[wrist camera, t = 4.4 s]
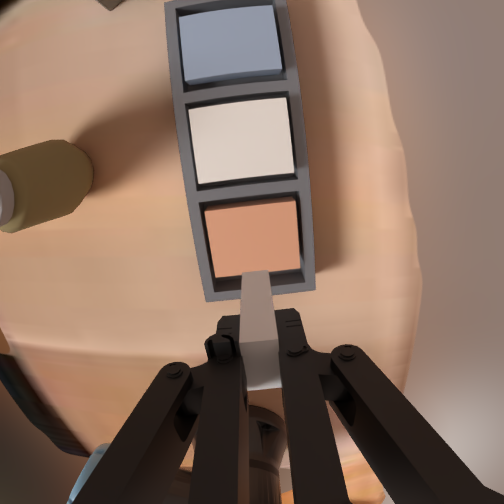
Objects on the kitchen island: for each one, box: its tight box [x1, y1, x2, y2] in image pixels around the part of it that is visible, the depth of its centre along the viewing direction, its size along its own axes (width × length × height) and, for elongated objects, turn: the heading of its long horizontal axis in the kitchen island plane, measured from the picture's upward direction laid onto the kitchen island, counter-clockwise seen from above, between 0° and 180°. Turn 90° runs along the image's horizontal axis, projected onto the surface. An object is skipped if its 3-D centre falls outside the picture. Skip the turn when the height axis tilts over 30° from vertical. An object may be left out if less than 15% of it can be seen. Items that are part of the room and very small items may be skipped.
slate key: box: [179, 5, 282, 86], centre depth 22 cm, size 6×8×2 cm
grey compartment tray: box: [164, 0, 316, 302], centre depth 27 cm, size 30×11×4 cm, turn 7°
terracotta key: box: [205, 196, 300, 278], centre depth 29 cm, size 6×8×2 cm
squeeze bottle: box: [0, 140, 94, 233], centre depth 20 cm, size 8×8×18 cm
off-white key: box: [189, 98, 294, 184], centre depth 25 cm, size 6×8×2 cm
